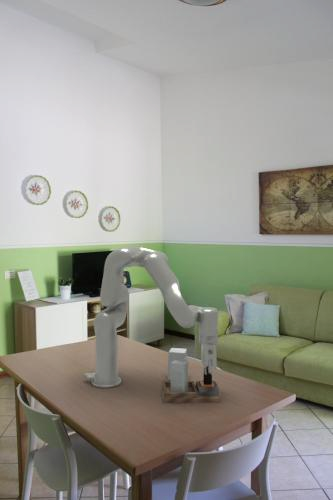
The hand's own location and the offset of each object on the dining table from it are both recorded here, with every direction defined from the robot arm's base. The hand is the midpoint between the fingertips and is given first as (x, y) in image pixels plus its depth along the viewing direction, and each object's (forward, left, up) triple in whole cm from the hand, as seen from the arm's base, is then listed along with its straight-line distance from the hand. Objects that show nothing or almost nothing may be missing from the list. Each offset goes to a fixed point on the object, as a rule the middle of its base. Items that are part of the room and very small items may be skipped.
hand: (207, 383), depth 173 cm
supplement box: (-10, +20, -5) cm, 23 cm away
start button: (0, 0, -3) cm, 3 cm away
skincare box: (-11, 0, -3) cm, 12 cm away
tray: (-7, 0, -5) cm, 9 cm away
